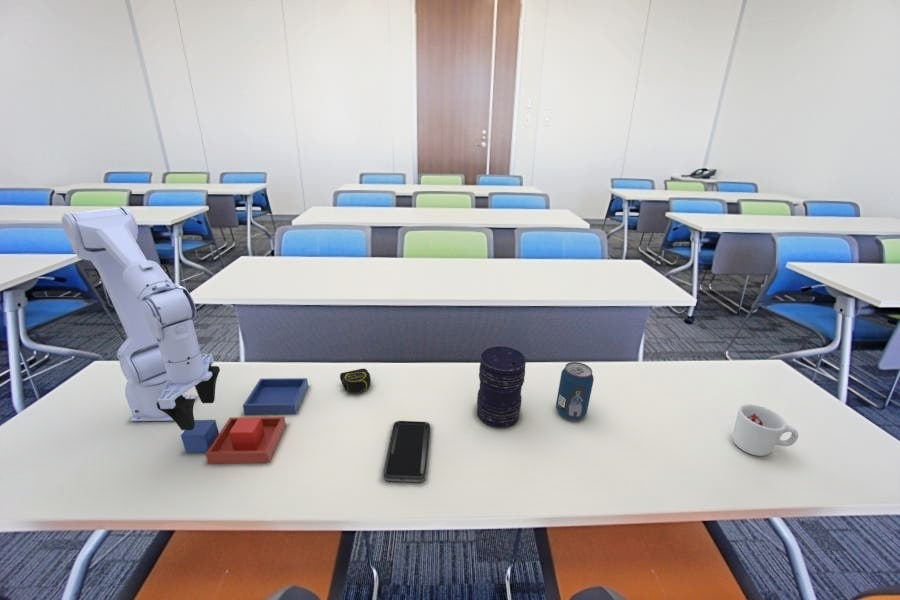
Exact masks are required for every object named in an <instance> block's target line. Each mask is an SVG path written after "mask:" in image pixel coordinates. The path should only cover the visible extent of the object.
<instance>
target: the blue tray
mask: <svg viewBox="0 0 900 600" xmlns="http://www.w3.org/2000/svg"><path fill="white" fill-rule="evenodd" d="M308 389H309V383H308V378H307V377H306V378H305V377H299V378H298V377H296V378H295V377H291V378H289V377H287V378H285V377H283V378H259V380H258V381H257V382H256V384H255V386H254V388H253V389H252V390H251V392H250V393H249V395H248V397H247V398H246V399H245V401H244V403H243V404H242V408H243V414H244V416H245V415H247V416H248V415H296V414H297V413H298V411H299V408H300V406H301V404H302V402H303V400H304V397H305V395H306V393H307V390H308Z"/></svg>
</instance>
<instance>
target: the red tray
mask: <svg viewBox="0 0 900 600" xmlns="http://www.w3.org/2000/svg"><path fill="white" fill-rule="evenodd" d="M239 417H240V416H237V417H236V416H233V417H232V416H230V417H229V418H228V420H227V421H226V423H225V424H224V426H223V427H222V429H221V430H220V432H219V435H218V436H217V438H216V439H215V441H214V442H213V444H212V445H211V447H210V448H209V450H208V451H207V453H205V458H206V460H207V464H208V465H216V464H217V465H218V464H219V465H221V464H265V463H266V464H268V463H270V461H271V459H272V457H273V455H274V453H275V450H276V448H277V446H278V444H279V442H280V440H281V438H282V436H283V433H284V431H285V428H286V427H287V424H286V418H285V416H260V417H261V419H262V424H263V429H264V436H263V438H262V440H261V442H260V444H259V445H258V447H257V449H256V450H233V446H232V442H231V438H230V434H229V432H230V431H231V429H232V428H233V426H234V424H235V423H236V421H237V420H238V418H239Z"/></svg>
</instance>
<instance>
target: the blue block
mask: <svg viewBox="0 0 900 600" xmlns="http://www.w3.org/2000/svg"><path fill="white" fill-rule="evenodd" d="M194 421H195V427H194V429H193V430H183V432H182V433H181V434H180V438H181V441H182V445H183V448H184V452H185V453H186V454H198V453H199V454H206V453H207V451H208V450H209V448H210V447H211V445H212V444H213V442H214V441H215V439H216V438H217V436H218V435H219V433H220V432H219V428H218V424H217V421H216V419H194Z"/></svg>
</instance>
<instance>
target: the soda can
mask: <svg viewBox="0 0 900 600" xmlns="http://www.w3.org/2000/svg"><path fill="white" fill-rule="evenodd" d="M594 379H595V377H594V374H593V369H592V368H591V367H590V366H589V365H587V364H585V363H583V362H578V361H571V362H568V363H566V364H565V365H564V368H563V369H562V370H561V372H560V379H559V383H558V391H557V396H556V402H555V409H556V411H557V413H558V414H559V416H560V417H561V418H563V419H564V420H567V421H571V422H578V421H580V420H582V419H583V418H584V417H585V416H586V415H587V414H588V409H589V404H590V401H591V400H590V399H591V395H592V390H593V385H594Z"/></svg>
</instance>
